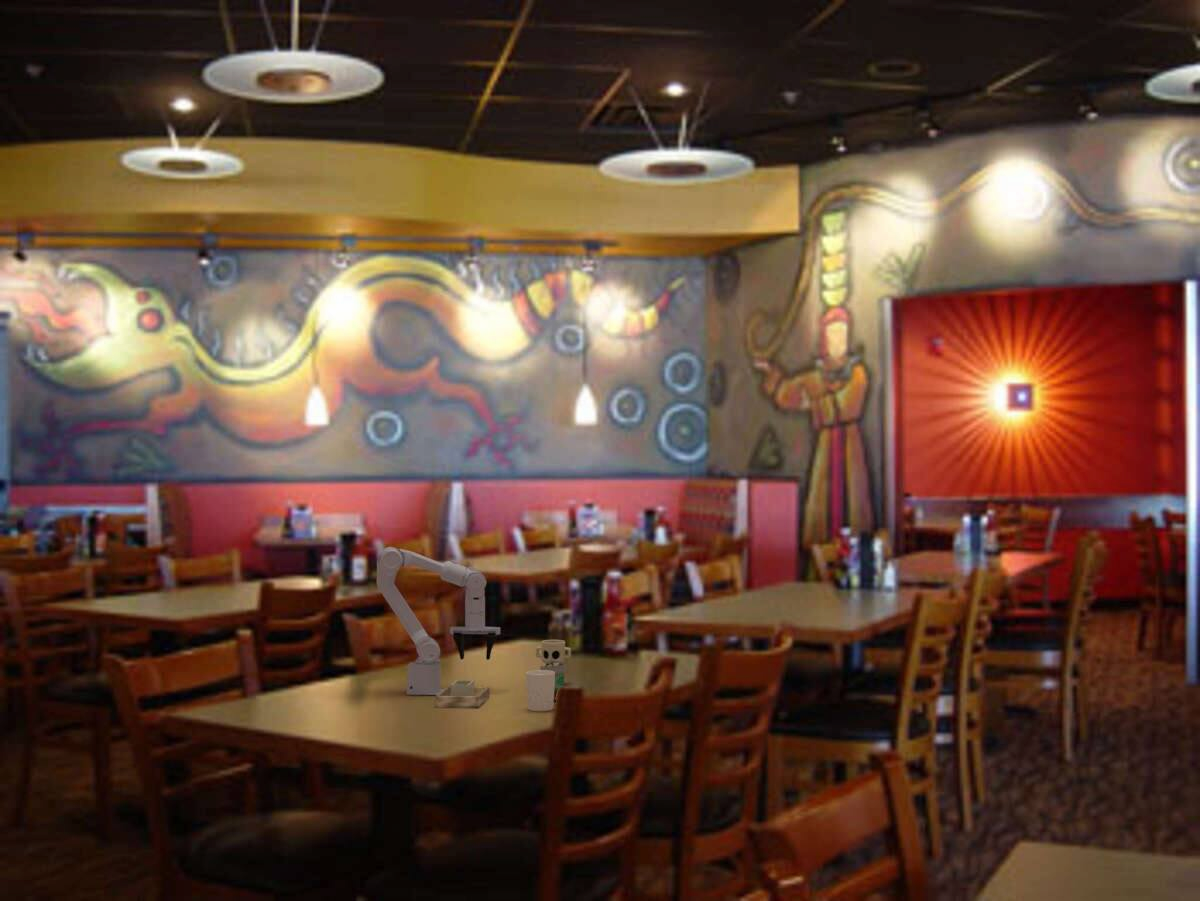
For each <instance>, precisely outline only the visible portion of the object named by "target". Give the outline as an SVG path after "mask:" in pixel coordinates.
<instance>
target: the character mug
mask: <svg viewBox="0 0 1200 901" xmlns="http://www.w3.org/2000/svg"><path fill="white" fill-rule="evenodd" d="M540 651H541V653H540ZM566 651H567V655H566ZM535 657H536V658H539V659H541V661H542V663H545V666H546V665H549V664H550V660H553V661H562V662H564V663H565V662H566V659H569V660H570V659H572V658H571V657H572V649H571V647H566V641H565V640H562V639H545V640H542V641H541V646H535Z"/></svg>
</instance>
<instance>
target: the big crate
mask: <svg viewBox="0 0 1200 901" xmlns="http://www.w3.org/2000/svg"><path fill="white" fill-rule="evenodd" d="M443 689H444V690H443V691H441V692H440V693H439V694H438V695H434V696H435V697H434V699H435V700H434V702H435V704H434V706H435V708H446V707H447V709H448V708H449V709H451V708H453V709H454V708H457V709H479V708H481V707H482V706H483V705H484V704H485V703H486V702H487V701H488V700H489V699H490V687H489V686H484V687H483V686H474V697H472V696H451V686H447V687H445V688H443Z"/></svg>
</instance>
